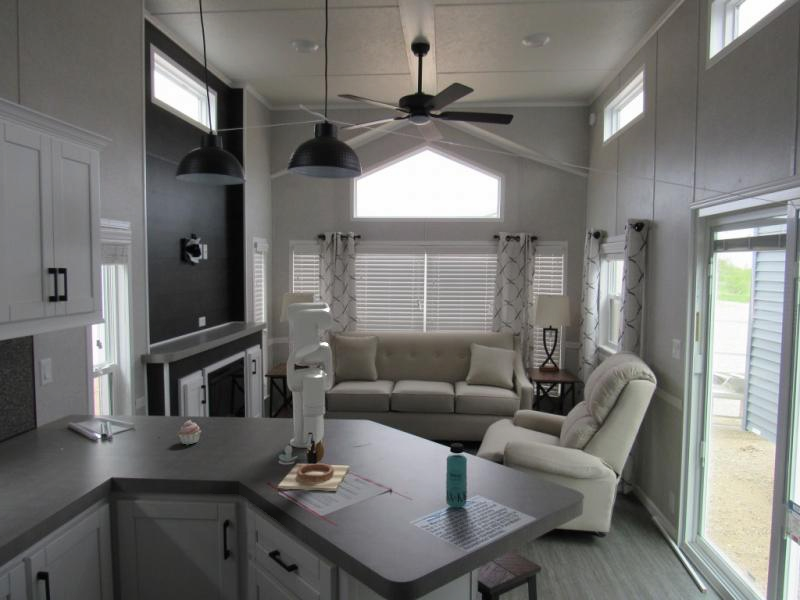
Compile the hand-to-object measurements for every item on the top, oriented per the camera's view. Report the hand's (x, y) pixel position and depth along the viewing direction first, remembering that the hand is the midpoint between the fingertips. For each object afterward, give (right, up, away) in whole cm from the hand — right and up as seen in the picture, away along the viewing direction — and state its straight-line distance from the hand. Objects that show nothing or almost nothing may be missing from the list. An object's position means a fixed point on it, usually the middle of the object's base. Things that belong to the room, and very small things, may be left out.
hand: (315, 459), depth 190 cm
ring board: (0, -7, +1) cm, 7 cm away
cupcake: (-59, -5, +40) cm, 72 cm away
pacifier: (-13, -6, +17) cm, 22 cm away
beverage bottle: (+47, -8, -23) cm, 53 cm away
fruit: (0, -1, 0) cm, 1 cm away
